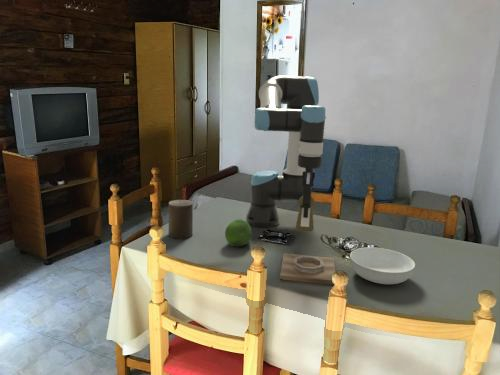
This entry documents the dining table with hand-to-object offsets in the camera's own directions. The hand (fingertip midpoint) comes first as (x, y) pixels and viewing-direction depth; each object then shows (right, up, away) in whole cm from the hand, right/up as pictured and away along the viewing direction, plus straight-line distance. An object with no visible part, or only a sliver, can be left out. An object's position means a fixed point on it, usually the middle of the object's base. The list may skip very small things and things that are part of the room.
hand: (305, 223), depth 140 cm
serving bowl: (+25, -19, +1) cm, 31 cm away
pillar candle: (-47, -8, +32) cm, 57 cm away
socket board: (+1, -17, +4) cm, 17 cm away
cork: (0, -2, 0) cm, 2 cm away
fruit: (-23, -10, +25) cm, 35 cm away
